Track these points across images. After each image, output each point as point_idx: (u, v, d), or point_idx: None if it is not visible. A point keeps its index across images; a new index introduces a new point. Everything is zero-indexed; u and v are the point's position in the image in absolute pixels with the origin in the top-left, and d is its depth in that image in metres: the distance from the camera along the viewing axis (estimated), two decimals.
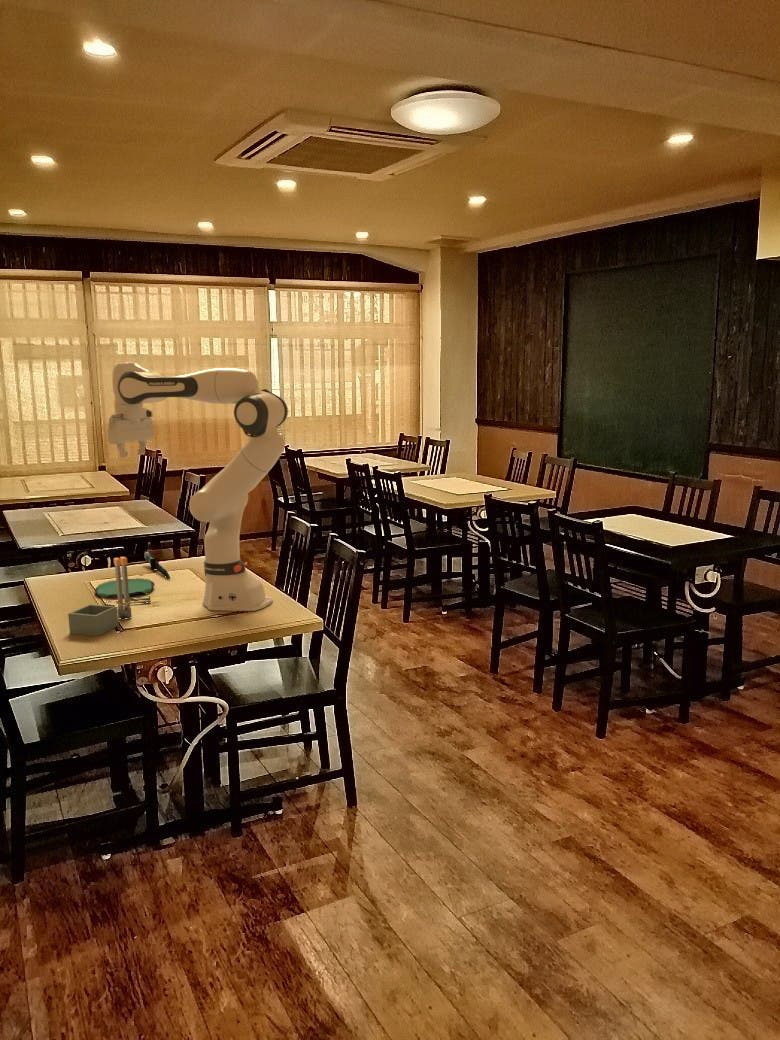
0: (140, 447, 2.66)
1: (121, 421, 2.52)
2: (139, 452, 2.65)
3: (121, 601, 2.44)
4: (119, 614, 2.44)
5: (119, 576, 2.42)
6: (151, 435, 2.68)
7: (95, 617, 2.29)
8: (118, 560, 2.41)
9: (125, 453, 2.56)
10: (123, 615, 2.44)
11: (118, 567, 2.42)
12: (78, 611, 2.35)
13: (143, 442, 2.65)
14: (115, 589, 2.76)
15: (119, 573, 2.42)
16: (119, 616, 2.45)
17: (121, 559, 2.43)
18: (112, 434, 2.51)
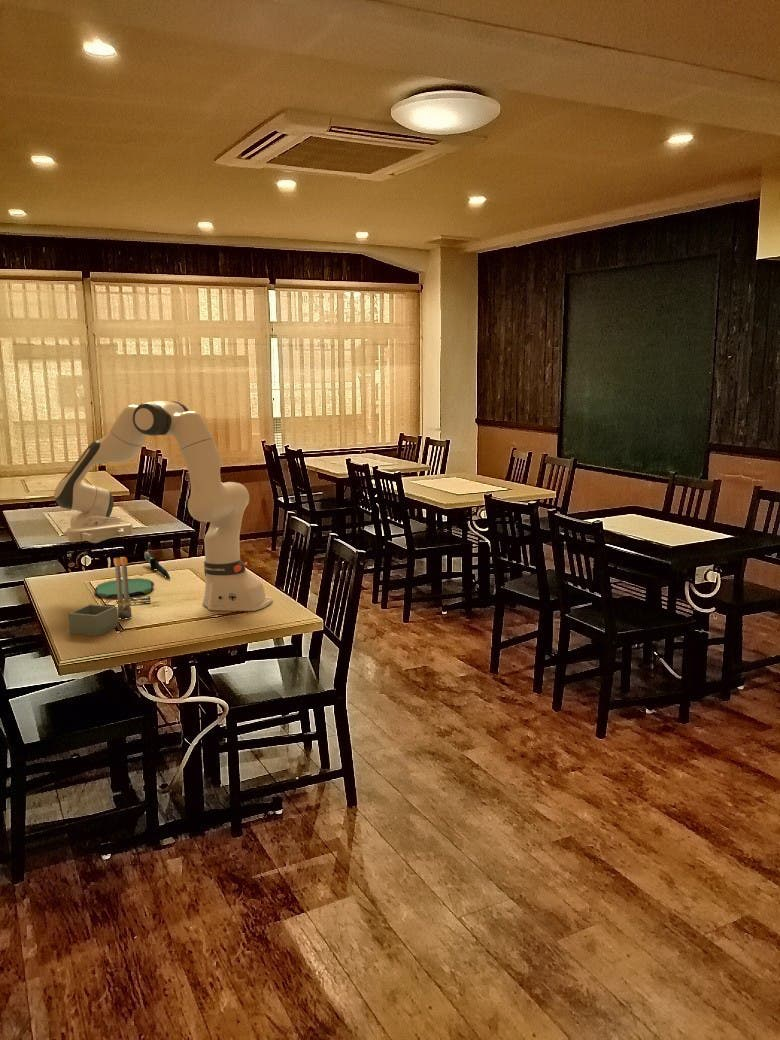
0: None
1: (73, 527, 2.56)
2: (119, 534, 2.55)
3: (121, 601, 2.44)
4: (119, 614, 2.44)
5: (119, 576, 2.42)
6: (127, 523, 2.61)
7: (95, 617, 2.29)
8: (118, 560, 2.41)
9: (89, 534, 2.50)
10: (123, 615, 2.44)
11: (117, 567, 2.42)
12: (78, 611, 2.35)
13: (119, 529, 2.58)
14: (115, 589, 2.76)
15: (119, 573, 2.42)
16: (119, 616, 2.45)
17: (121, 558, 2.43)
18: (67, 535, 2.52)
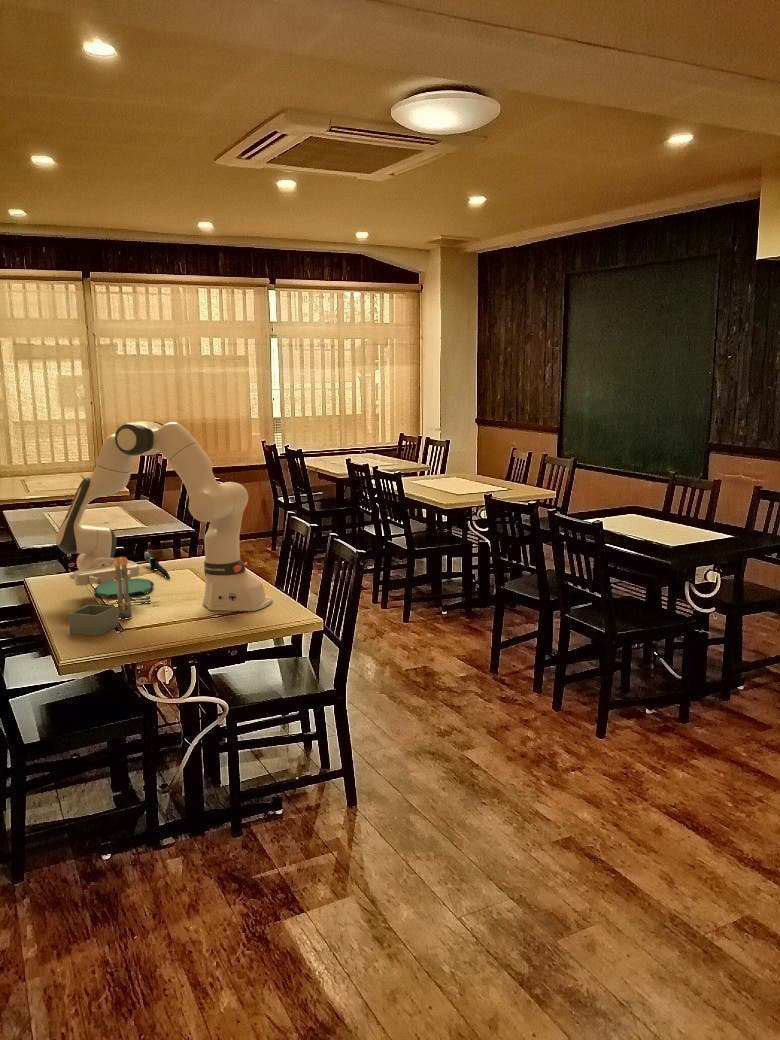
0: None
1: (80, 570, 2.56)
2: None
3: (121, 601, 2.44)
4: (119, 614, 2.44)
5: (119, 576, 2.42)
6: (133, 565, 2.61)
7: (95, 617, 2.29)
8: (118, 560, 2.41)
9: (96, 578, 2.49)
10: (123, 615, 2.44)
11: (117, 567, 2.42)
12: (78, 611, 2.35)
13: None
14: (114, 589, 2.76)
15: (119, 573, 2.42)
16: (119, 616, 2.45)
17: (121, 558, 2.43)
18: (74, 578, 2.52)
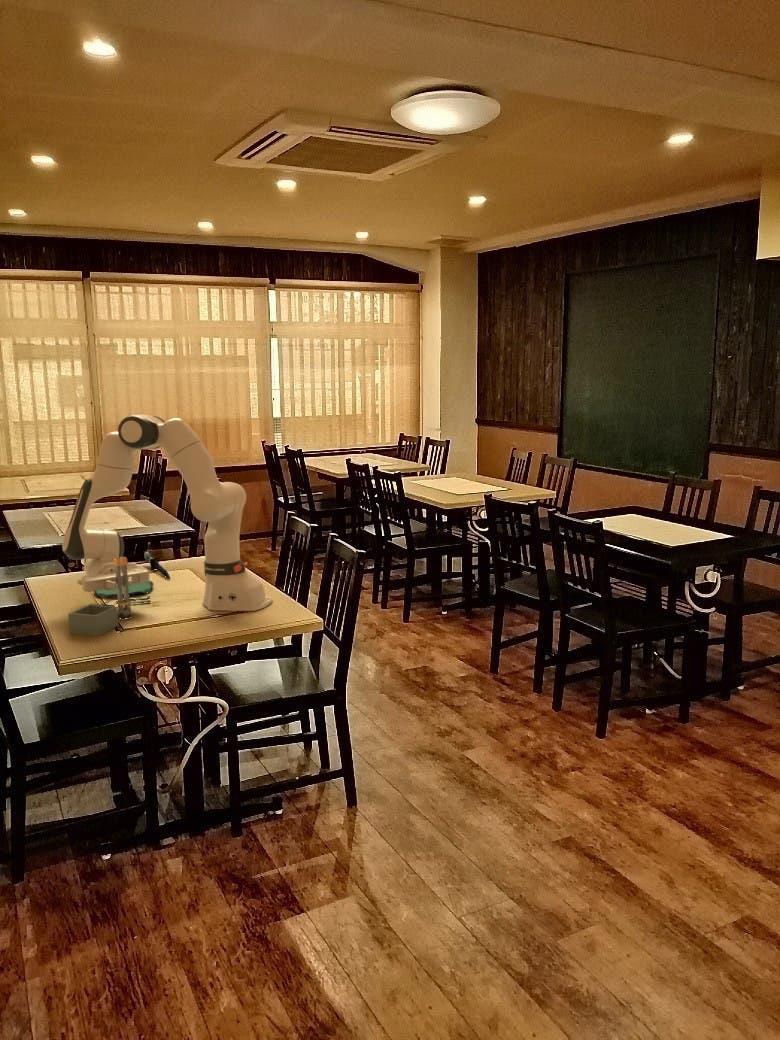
0: None
1: (88, 575, 2.48)
2: None
3: (121, 601, 2.44)
4: (119, 614, 2.44)
5: (119, 576, 2.42)
6: (143, 570, 2.53)
7: (95, 617, 2.29)
8: (118, 560, 2.41)
9: (113, 582, 2.43)
10: (123, 615, 2.44)
11: (118, 567, 2.42)
12: (78, 611, 2.35)
13: None
14: (114, 589, 2.76)
15: (119, 573, 2.42)
16: (119, 616, 2.45)
17: (121, 558, 2.43)
18: (82, 584, 2.44)
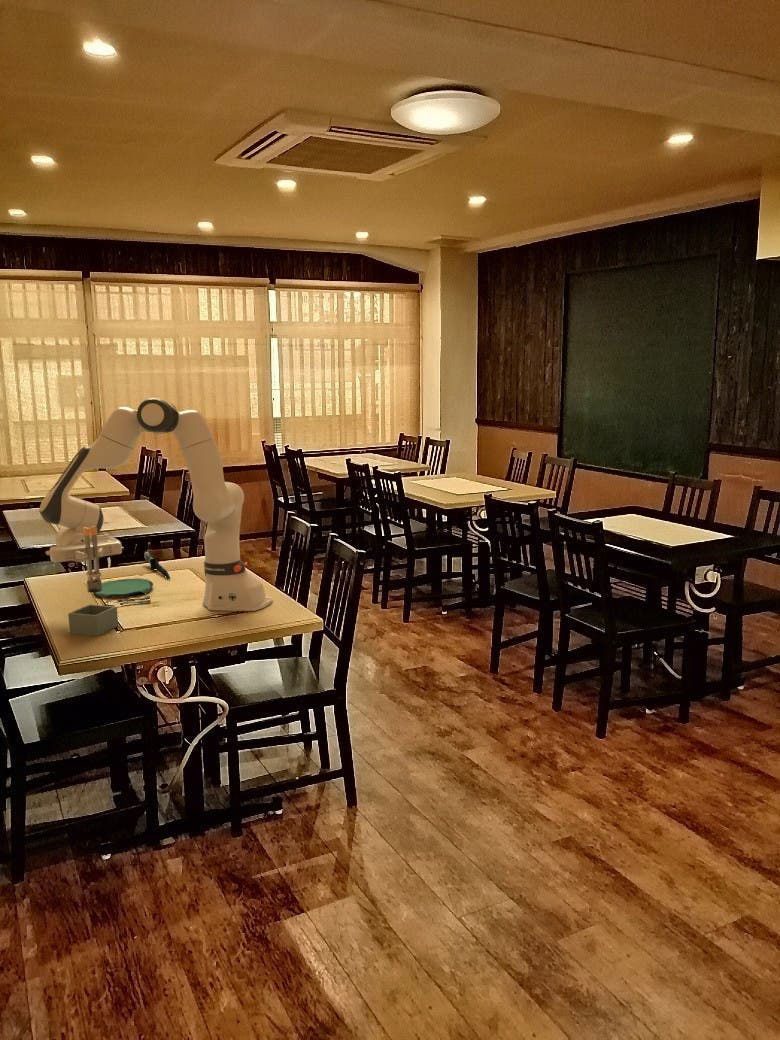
0: None
1: (57, 545, 2.37)
2: None
3: (91, 573, 2.33)
4: (88, 586, 2.34)
5: (88, 546, 2.31)
6: (115, 541, 2.42)
7: (95, 617, 2.29)
8: (87, 529, 2.30)
9: (83, 553, 2.32)
10: (92, 587, 2.33)
11: (87, 536, 2.31)
12: (78, 611, 2.35)
13: (98, 549, 2.37)
14: (114, 589, 2.76)
15: (89, 543, 2.31)
16: (88, 588, 2.34)
17: (91, 528, 2.32)
18: (50, 554, 2.33)
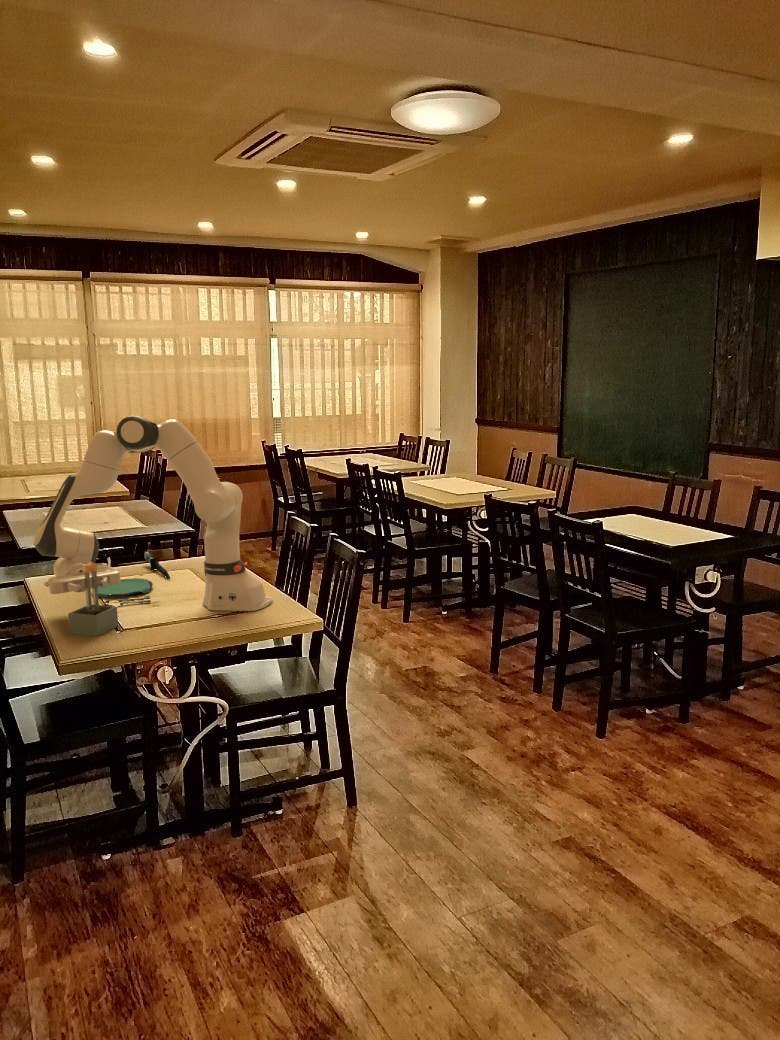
0: None
1: None
2: (101, 585, 2.35)
3: (90, 609, 2.33)
4: None
5: (88, 582, 2.31)
6: (114, 571, 2.42)
7: (95, 617, 2.29)
8: (87, 566, 2.30)
9: (75, 585, 2.31)
10: None
11: (87, 573, 2.30)
12: (78, 611, 2.35)
13: (102, 578, 2.38)
14: (113, 589, 2.76)
15: (88, 580, 2.31)
16: None
17: (90, 564, 2.32)
18: (49, 586, 2.33)
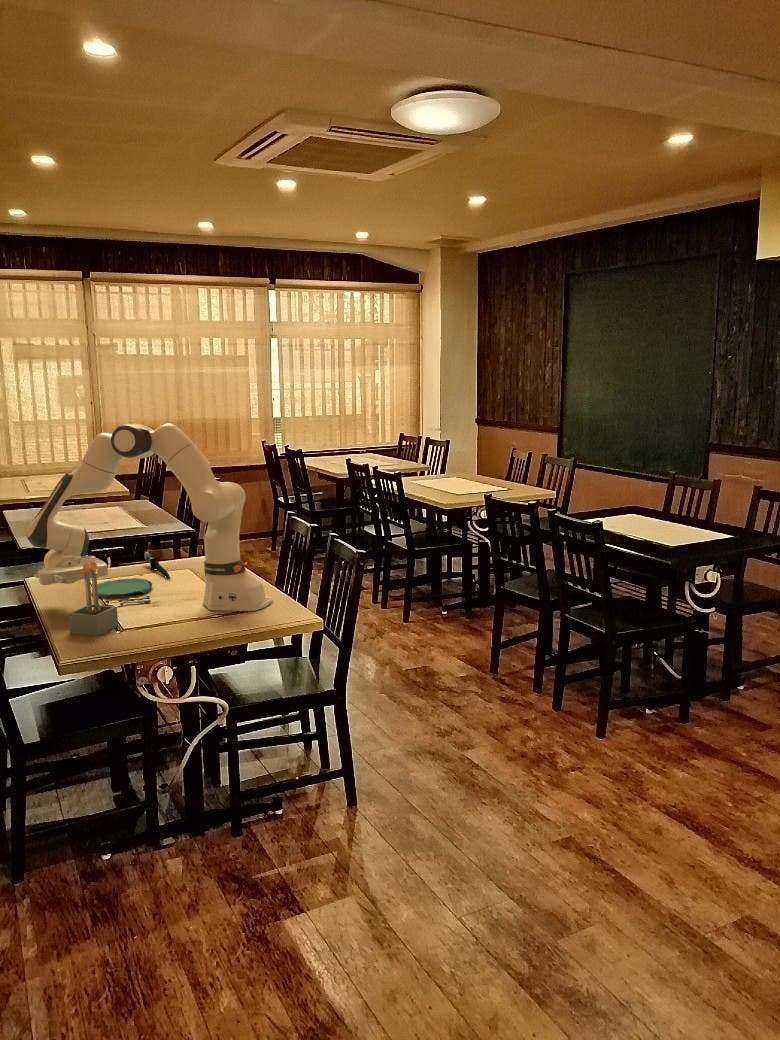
0: None
1: None
2: None
3: (90, 608, 2.33)
4: None
5: (88, 582, 2.31)
6: (101, 564, 2.51)
7: (95, 617, 2.29)
8: (87, 565, 2.31)
9: (61, 577, 2.40)
10: None
11: (86, 572, 2.31)
12: (78, 611, 2.35)
13: None
14: (113, 589, 2.76)
15: (88, 579, 2.31)
16: None
17: (90, 564, 2.33)
18: (38, 577, 2.42)
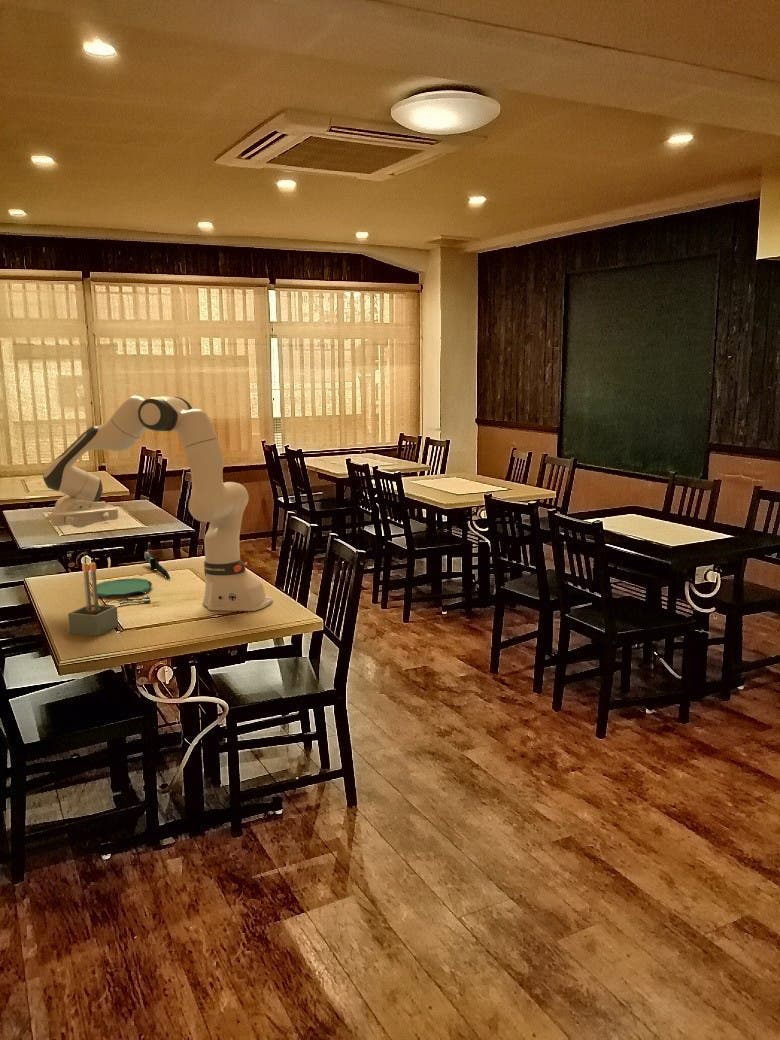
0: None
1: None
2: (103, 518, 2.49)
3: (90, 609, 2.33)
4: None
5: (87, 582, 2.31)
6: (112, 508, 2.56)
7: (95, 617, 2.29)
8: (86, 566, 2.30)
9: (72, 518, 2.44)
10: None
11: (86, 573, 2.30)
12: (78, 611, 2.35)
13: (104, 513, 2.52)
14: (112, 589, 2.76)
15: (87, 580, 2.31)
16: None
17: (90, 564, 2.32)
18: (50, 519, 2.47)
